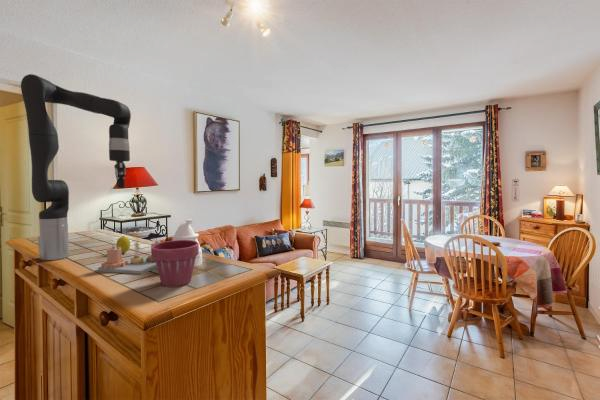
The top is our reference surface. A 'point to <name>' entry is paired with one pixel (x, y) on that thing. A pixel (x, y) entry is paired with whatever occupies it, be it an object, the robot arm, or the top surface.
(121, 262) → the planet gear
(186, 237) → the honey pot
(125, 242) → the lemon
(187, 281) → the plant pot
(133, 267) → the carrier
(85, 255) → the top surface
